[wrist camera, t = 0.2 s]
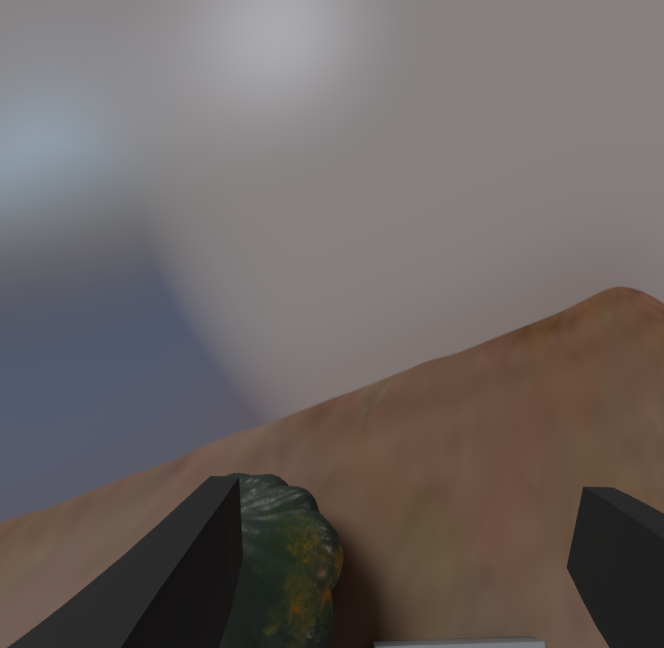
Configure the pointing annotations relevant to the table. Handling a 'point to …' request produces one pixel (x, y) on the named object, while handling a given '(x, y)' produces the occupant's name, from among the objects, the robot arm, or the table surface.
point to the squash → (283, 569)
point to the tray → (464, 643)
